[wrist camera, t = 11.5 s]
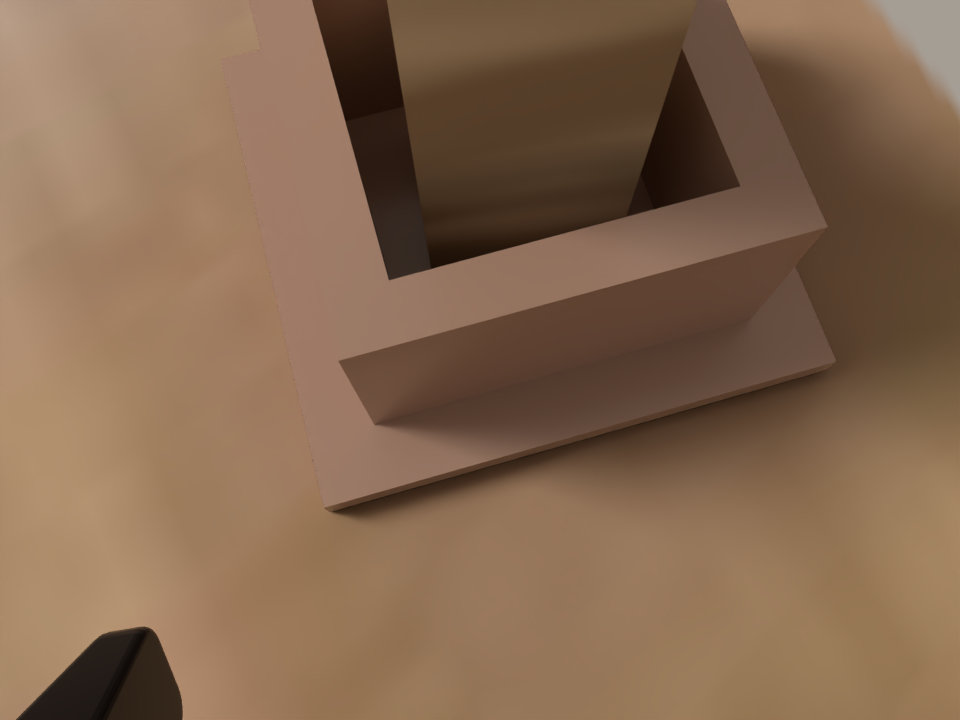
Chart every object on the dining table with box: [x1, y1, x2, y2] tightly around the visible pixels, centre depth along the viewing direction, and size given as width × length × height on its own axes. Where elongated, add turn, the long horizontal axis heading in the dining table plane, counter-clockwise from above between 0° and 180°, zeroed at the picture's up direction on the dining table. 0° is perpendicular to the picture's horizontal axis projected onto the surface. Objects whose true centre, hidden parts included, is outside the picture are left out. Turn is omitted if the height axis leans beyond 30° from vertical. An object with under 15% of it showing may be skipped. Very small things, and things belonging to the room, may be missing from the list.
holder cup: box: [221, 0, 836, 512], centre depth 16 cm, size 10×10×5 cm
